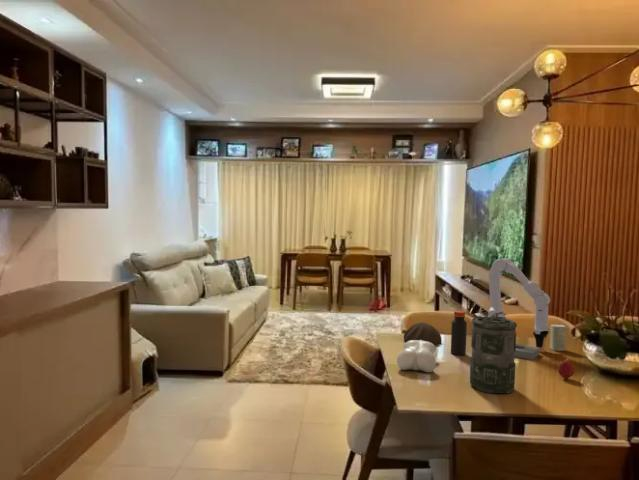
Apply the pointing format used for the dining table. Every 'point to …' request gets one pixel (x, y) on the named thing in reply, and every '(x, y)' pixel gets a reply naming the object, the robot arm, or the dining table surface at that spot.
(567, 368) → the onion
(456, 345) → the bottle
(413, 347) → the torso sculpture
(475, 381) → the canister
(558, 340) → the skincare box
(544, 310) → the robot arm
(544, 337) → the rust peg
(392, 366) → the dining table surface
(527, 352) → the grey flat block
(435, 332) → the decorative dome
